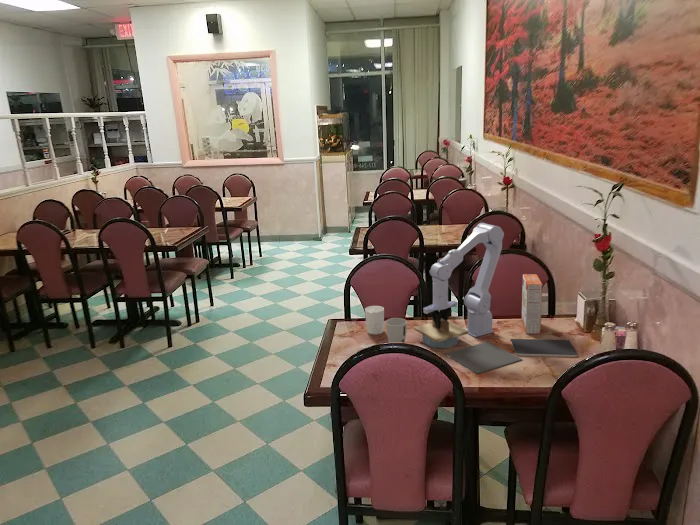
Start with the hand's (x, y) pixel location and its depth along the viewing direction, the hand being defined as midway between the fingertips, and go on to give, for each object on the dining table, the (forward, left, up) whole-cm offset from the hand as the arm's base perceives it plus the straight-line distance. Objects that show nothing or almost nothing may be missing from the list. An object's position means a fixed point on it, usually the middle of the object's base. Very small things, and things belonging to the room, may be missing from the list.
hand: (440, 327), depth 196 cm
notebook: (-27, +26, -6) cm, 38 cm away
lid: (0, 0, -2) cm, 2 cm away
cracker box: (-38, +9, -6) cm, 39 cm away
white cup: (+17, -22, -6) cm, 28 cm away
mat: (-4, +20, -6) cm, 21 cm away
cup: (+17, -5, -6) cm, 19 cm away
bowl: (0, 0, -6) cm, 6 cm away
